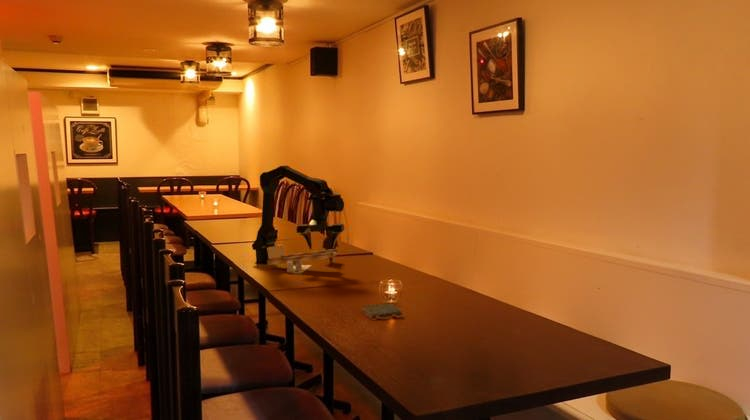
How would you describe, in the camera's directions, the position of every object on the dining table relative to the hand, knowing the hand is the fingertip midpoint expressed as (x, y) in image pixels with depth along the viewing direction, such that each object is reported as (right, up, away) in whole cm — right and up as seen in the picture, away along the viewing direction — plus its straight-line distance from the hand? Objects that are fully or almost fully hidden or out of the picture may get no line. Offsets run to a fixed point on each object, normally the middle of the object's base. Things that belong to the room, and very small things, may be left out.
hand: (321, 249), depth 239 cm
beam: (-8, -4, +2) cm, 9 cm away
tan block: (-19, -5, +4) cm, 20 cm away
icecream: (+2, -7, +19) cm, 20 cm away
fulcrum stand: (-11, -9, +3) cm, 15 cm away
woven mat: (+24, -16, -62) cm, 69 cm away
